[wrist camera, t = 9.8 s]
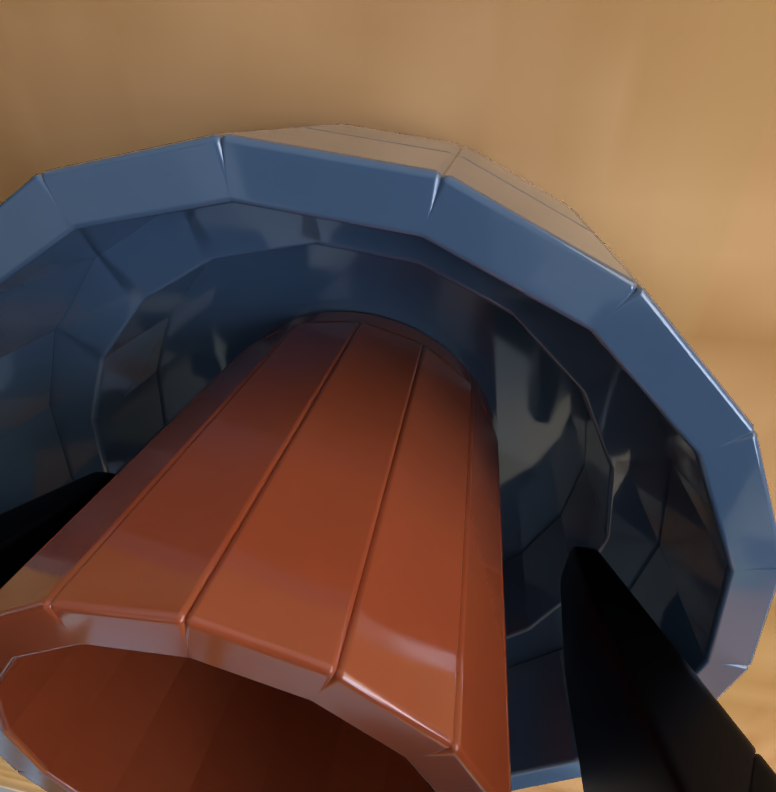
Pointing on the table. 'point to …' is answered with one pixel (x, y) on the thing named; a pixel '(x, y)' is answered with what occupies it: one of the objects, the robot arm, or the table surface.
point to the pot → (278, 587)
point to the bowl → (424, 311)
